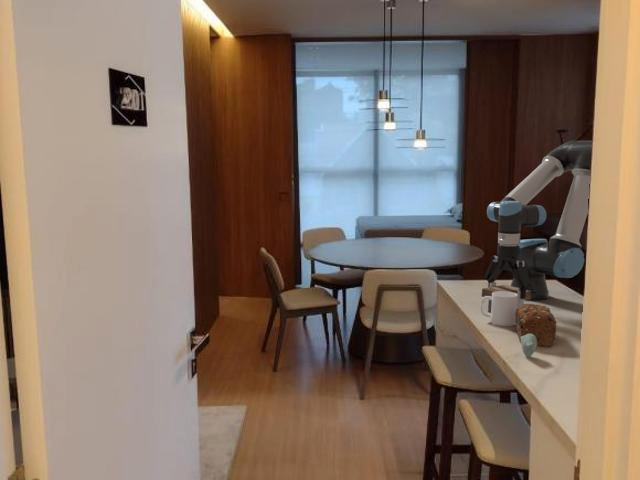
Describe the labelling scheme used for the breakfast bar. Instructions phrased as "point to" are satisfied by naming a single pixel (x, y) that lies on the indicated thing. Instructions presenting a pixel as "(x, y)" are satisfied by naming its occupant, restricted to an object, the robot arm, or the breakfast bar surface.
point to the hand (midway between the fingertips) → (505, 303)
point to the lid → (506, 288)
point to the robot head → (528, 344)
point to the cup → (501, 308)
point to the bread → (536, 323)
